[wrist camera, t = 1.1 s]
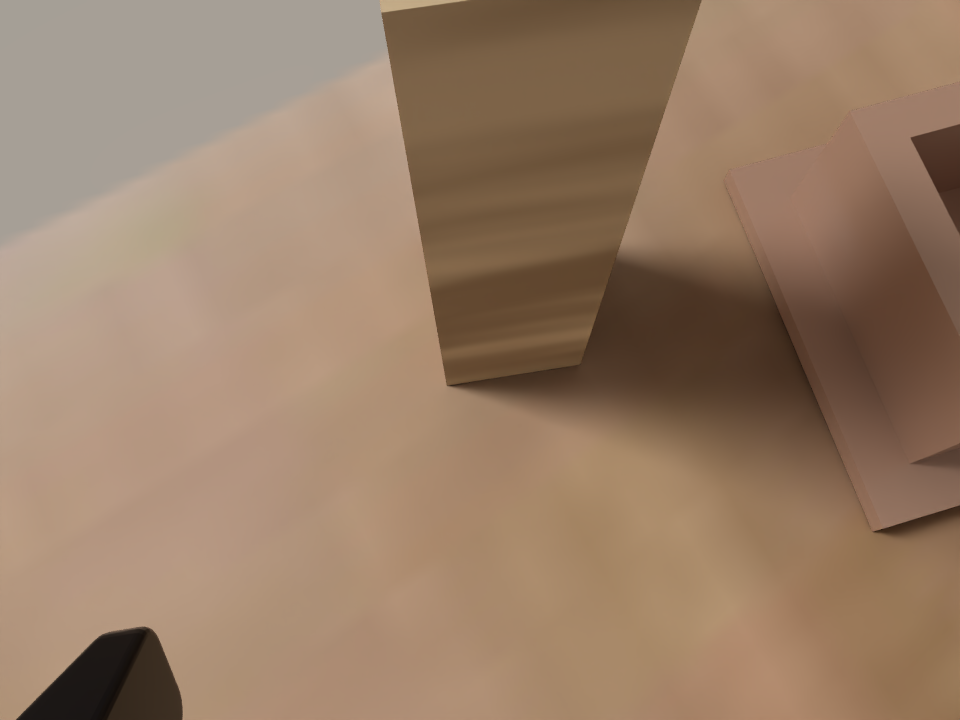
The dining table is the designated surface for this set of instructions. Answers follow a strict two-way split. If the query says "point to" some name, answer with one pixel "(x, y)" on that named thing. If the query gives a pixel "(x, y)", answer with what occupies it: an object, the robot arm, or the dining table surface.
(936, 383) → the holder cup
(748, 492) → the dining table surface
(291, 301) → the dining table surface
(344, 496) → the dining table surface
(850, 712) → the dining table surface
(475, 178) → the wooden block
